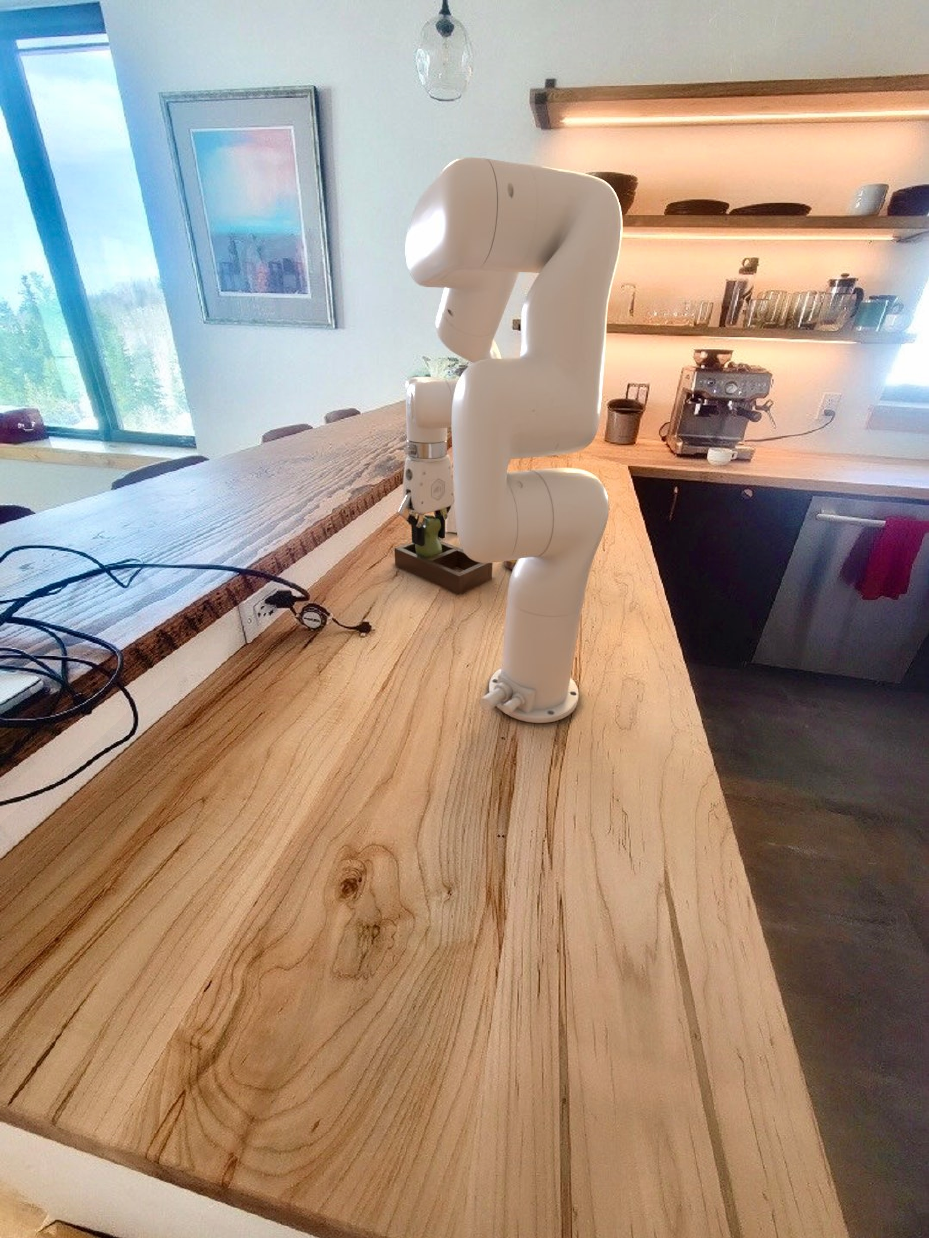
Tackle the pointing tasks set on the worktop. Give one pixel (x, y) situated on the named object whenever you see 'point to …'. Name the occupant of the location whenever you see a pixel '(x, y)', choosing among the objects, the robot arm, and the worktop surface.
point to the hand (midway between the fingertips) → (428, 539)
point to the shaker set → (451, 520)
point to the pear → (430, 538)
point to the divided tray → (444, 567)
